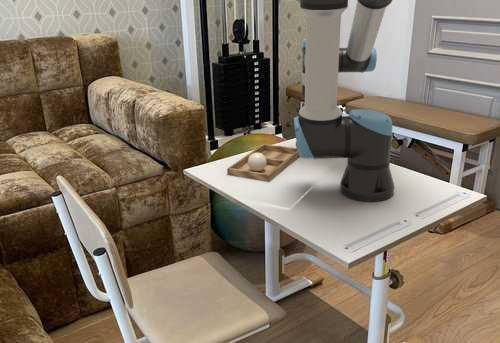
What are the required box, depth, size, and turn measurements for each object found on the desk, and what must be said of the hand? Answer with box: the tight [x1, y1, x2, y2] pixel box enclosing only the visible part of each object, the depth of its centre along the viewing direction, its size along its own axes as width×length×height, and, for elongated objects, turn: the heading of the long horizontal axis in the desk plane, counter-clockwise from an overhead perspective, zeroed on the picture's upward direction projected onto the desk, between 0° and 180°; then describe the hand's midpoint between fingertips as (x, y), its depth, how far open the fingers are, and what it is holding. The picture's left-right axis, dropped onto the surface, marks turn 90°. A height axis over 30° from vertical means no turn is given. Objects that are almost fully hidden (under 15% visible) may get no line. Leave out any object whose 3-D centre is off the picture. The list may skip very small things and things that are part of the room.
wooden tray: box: [226, 143, 301, 183], centre depth 163 cm, size 15×26×3 cm, turn 152°
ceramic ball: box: [248, 153, 267, 171], centre depth 157 cm, size 6×6×6 cm
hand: (312, 144), depth 177 cm, fingers open, 12 cm apart
